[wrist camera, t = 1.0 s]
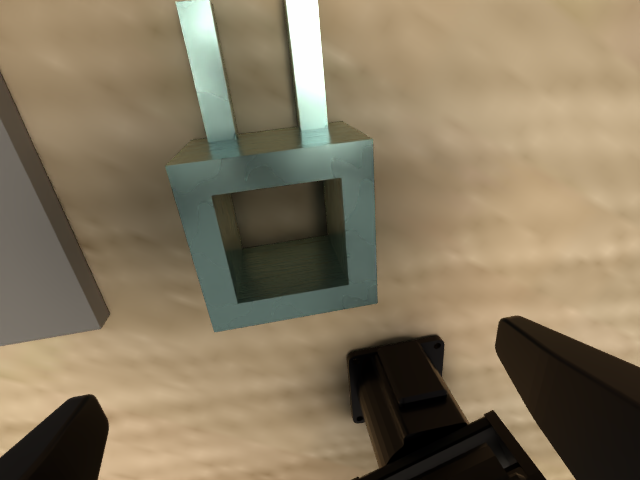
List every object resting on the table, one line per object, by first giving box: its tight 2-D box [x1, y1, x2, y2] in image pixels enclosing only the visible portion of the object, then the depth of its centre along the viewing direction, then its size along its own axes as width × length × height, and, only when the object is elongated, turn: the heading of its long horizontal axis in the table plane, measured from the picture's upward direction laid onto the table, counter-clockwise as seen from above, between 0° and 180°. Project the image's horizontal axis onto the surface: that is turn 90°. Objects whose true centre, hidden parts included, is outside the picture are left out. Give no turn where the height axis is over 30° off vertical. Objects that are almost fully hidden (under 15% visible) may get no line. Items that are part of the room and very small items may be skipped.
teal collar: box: [165, 0, 378, 332], centre depth 14 cm, size 12×7×5 cm, turn 5°
